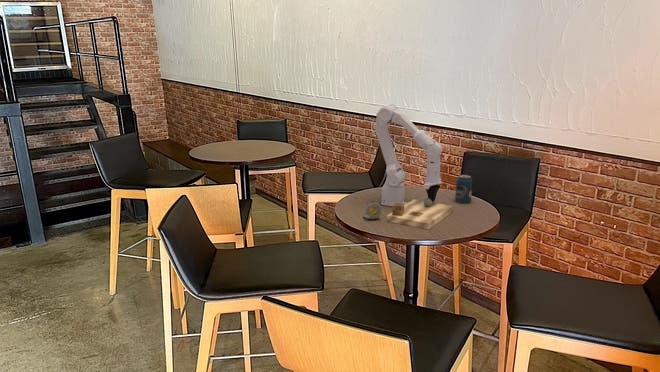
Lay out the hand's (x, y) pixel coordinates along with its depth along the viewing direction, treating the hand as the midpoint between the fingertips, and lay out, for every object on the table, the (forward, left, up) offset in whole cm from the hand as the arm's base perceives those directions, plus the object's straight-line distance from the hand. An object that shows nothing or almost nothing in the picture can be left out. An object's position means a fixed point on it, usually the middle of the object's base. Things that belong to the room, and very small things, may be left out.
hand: (431, 201), depth 217 cm
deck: (0, -11, -3) cm, 12 cm away
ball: (0, -4, +1) cm, 5 cm away
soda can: (+8, +18, -4) cm, 20 cm away
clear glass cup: (-16, -24, -4) cm, 30 cm away
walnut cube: (-6, -20, -1) cm, 21 cm away
